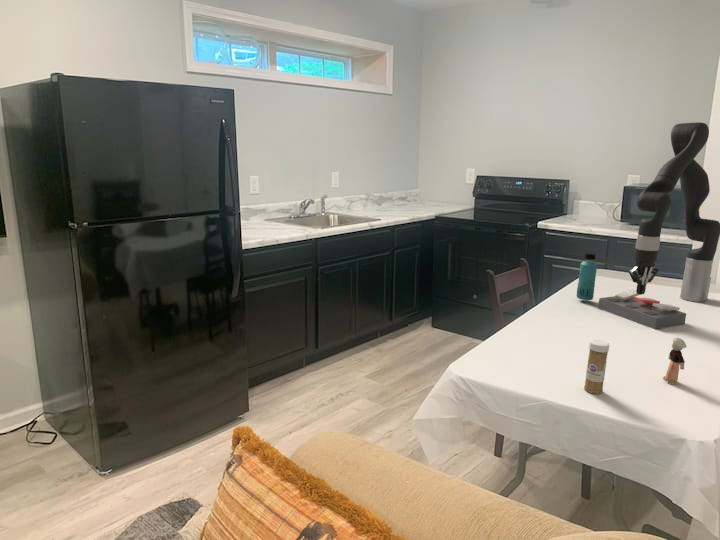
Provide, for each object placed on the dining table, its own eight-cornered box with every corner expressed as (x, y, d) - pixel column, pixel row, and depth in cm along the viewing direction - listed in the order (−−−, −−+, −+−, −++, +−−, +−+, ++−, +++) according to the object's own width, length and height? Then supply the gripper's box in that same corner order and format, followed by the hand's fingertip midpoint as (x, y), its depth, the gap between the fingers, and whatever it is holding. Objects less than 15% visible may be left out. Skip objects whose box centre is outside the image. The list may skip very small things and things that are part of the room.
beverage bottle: (590, 299, 219) (596, 251, 214) (595, 304, 212) (601, 255, 208) (573, 298, 219) (579, 251, 215) (578, 303, 213) (584, 254, 208)
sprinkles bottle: (582, 391, 139) (588, 343, 135) (585, 385, 142) (591, 337, 139) (601, 396, 136) (608, 346, 133) (604, 389, 140) (610, 341, 137)
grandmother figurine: (656, 376, 148) (663, 333, 145) (669, 375, 149) (676, 333, 146) (674, 388, 141) (682, 343, 138) (688, 388, 141) (696, 343, 138)
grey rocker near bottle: (632, 293, 210) (632, 288, 209) (641, 295, 206) (641, 291, 206) (615, 299, 207) (615, 294, 206) (624, 302, 203) (624, 297, 203)
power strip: (626, 304, 213) (627, 293, 212) (684, 324, 191) (686, 312, 190) (598, 308, 208) (599, 297, 207) (654, 329, 185) (656, 317, 184)
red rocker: (649, 302, 203) (650, 298, 203) (658, 305, 199) (660, 301, 199) (632, 301, 199) (634, 296, 199) (642, 304, 196) (643, 299, 195)
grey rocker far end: (668, 309, 196) (669, 304, 195) (678, 312, 192) (679, 307, 192) (651, 307, 192) (653, 302, 192) (661, 310, 188) (663, 305, 188)
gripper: (651, 244, 199) (644, 289, 203) (625, 246, 193) (618, 292, 198) (669, 248, 192) (662, 295, 196) (642, 251, 187) (635, 298, 191)
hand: (640, 293), depth 197 cm, fingers closed
